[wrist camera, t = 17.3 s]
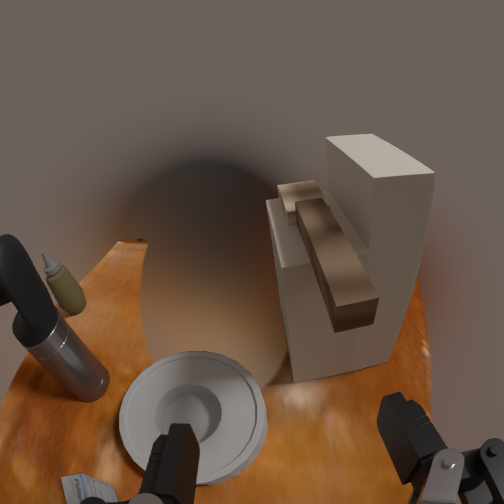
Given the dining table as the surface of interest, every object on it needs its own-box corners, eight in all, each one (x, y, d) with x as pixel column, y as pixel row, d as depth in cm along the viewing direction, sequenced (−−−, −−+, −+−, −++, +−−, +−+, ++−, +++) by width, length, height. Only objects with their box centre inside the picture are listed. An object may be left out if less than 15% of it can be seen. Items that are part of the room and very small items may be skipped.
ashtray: (198, 515, 25) (188, 515, 22) (108, 421, 38) (96, 412, 36) (299, 407, 38) (298, 397, 36) (195, 342, 51) (188, 329, 49)
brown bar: (384, 321, 20) (391, 294, 18) (321, 335, 20) (322, 309, 18) (314, 191, 39) (313, 172, 38) (278, 197, 40) (276, 177, 38)
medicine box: (94, 488, 27) (59, 475, 22) (114, 485, 28) (81, 472, 23) (106, 529, 21) (70, 523, 16) (129, 527, 22) (94, 522, 17)
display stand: (387, 361, 40) (435, 172, 22) (294, 383, 41) (271, 191, 23) (361, 299, 53) (372, 133, 34) (282, 314, 53) (257, 145, 35)
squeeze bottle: (66, 322, 60) (28, 268, 49) (66, 304, 66) (34, 252, 55) (90, 311, 62) (55, 254, 52) (89, 293, 68) (58, 239, 58)
